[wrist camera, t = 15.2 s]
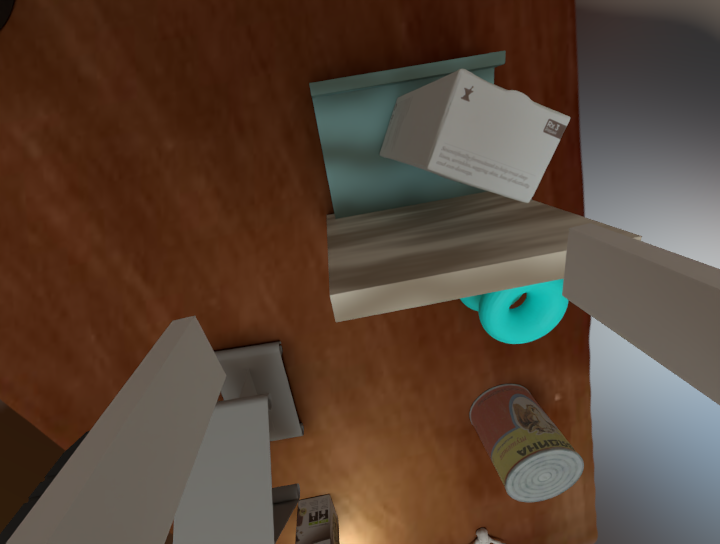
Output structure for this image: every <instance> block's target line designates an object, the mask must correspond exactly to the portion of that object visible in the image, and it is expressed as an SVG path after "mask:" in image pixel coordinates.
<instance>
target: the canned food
mask: <svg viewBox="0 0 720 544" xmlns="http://www.w3.org/2000/svg"><path fill="white" fill-rule="evenodd" d="M469 416H470V420H471V423H472V424H473V425H474V427H475V429H476V431H477V433H478V435H479V437H480V439H481V441H482V443H483V445H484V447H485V449H486V451H487V453H488V455H489V457H490V459H491V460H492V462H493V464H494V466H495V468H496V470H497V472H498V474H499V476H500V478H501V480H502V482H503V484H504V486H505V489H506V491H507V493H508V495H509V496H510V497H512V498H513V499H515V500H518V501H521V502H538V501H543V500H546V499H550V498H552V497H555V496H557V495H559V494H561V493H563V492H564V491H566V490H567V489H569V488H570V487H571V486H572V485H573V484H574V483H575V482H576V481H577V480H578V479H579V477H580V476H581V474H582V472H583V468H584V462H583V459H582V458H581V456H580V455H579V454H578V453H577V452H576V451H575V450H574V449H573V447H572V446H571V445H570V443H569V442H568V441H567V440H566V438H565V437H564V436H563V435H562V433H561V432H560V431H559V430H558V428H557V427H556V426H555V424H554V423H553V422H552V421H551V419H550V418H549V417H548V416H547V414H546V413H545V412H544V411H543V409H542V408H541V407H540V405H539V404H538V403H537V402H536V400H535V399H534V398H533V397H532V395H531V393H530V392H529V391H528V390H527V389H526V388H525V387H523V386H521V385H517V384H503V385H498V386H495V387H493V388H491V389H489V390H487V391H485V392H484V393H482V394H481V395H480V396H479V397H478V398H477V399H476V400H475V401H474V403H473V404H472V406H471V409H470V414H469Z"/></svg>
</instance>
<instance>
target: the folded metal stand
mask: <svg viewBox="0 0 720 544" xmlns="http://www.w3.org/2000/svg"><path fill="white" fill-rule="evenodd" d="M279 344H281V342H274V343H268V344H261V345H255V346H248V347H242V348H235V349H229V350H223V351H216V352H214V353H215V355H216V357H217V359H218V361H219V362H220V364H221V366H222V368H223V370H224V372H225V374H226V378H225V381H224V384H223V386H222V389H221V393H222V396H223V398H224V401H218V402H217V403H216V405H215V408H214V411H213V413H212V416H211V419H210V421H209V424H208V427H207V430H206V432H205V435H204V438H203V440H202V443H201V446H200V449H199V451H198V454H197V457H196V459H195V462H194V465H193V467H192V470H191V473H190V476H189V478H188V481H187V484H186V486H185V489H184V492H183V494H182V497H181V500H180V503H179V505H178V508H177V511H176V513H175V516H174V535H173V544H275V543H276V541H277V539H278V537H279V536H280V534H281V532H282V530H283V528H284V527H285V525H286V523H287V521H288V519H289V517H290V516H291V514H292V512H293V510H294V508H295V506H296V505H297V503H298V501H299V498H300V487H299V484H292V485H287V486H281V487H276V488H272V481H271V460H270V441H274V440H280V439H286V438H292V437H298V436H303V435H304V428H303V426H302V424H303V423H300V424H299V420H298V416H297V413H296V409H295V405H294V402H293V398H292V394H291V391H290V387H289V383H288V380H287V376H286V373H285V369H284V365H283V362H282V358H281V355H282V346H279Z"/></svg>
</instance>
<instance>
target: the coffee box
mask: <svg viewBox="0 0 720 544" xmlns="http://www.w3.org/2000/svg"><path fill="white" fill-rule="evenodd" d="M295 544H339V523H338V517H337V514H336V511H335V508H334V506H333V503H332V500H331V497H330V495H324V496H319V497H314V498H309V499H304V500H300V501H299V502H298V513H297V527H296V542H295Z"/></svg>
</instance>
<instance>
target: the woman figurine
mask: <svg viewBox="0 0 720 544" xmlns="http://www.w3.org/2000/svg"><path fill="white" fill-rule="evenodd" d="M476 534H477V536H478V539H476V540H475V543H474V544H490V542H492V543H495V544H505V543H501V542H499V541H496V540H493V539H491V538H490V536H488V532H487V530H486V529H485V528H480V529H478V530H477V531H476Z"/></svg>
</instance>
